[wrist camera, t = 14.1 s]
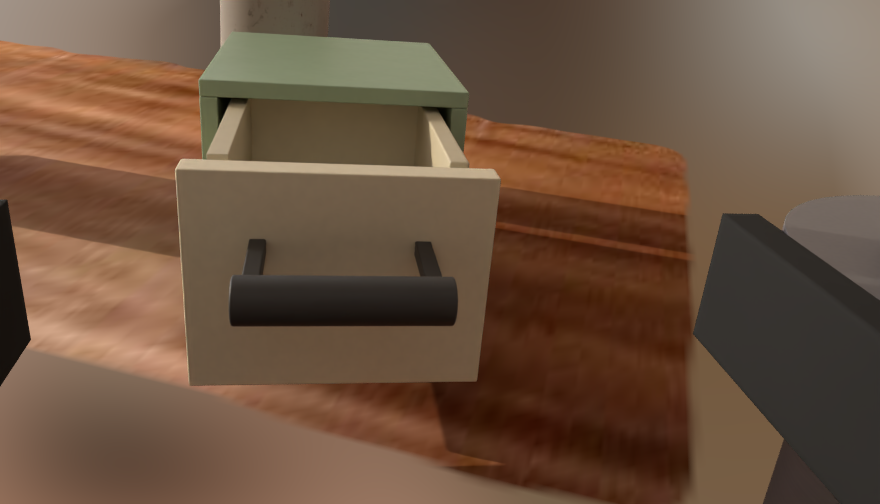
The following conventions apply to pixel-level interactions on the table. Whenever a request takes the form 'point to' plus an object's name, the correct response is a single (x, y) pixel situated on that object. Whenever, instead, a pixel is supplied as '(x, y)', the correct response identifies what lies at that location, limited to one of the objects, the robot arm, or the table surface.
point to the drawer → (334, 247)
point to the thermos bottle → (274, 17)
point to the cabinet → (329, 76)
